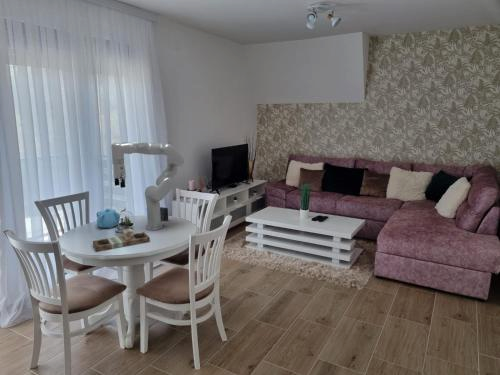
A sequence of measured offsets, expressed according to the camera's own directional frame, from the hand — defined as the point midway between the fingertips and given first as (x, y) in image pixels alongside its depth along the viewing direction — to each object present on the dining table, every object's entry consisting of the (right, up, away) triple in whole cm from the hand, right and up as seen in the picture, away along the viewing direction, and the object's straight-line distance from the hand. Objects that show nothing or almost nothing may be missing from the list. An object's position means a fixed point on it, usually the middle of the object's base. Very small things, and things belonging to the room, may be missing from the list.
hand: (120, 186), depth 244 cm
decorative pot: (-17, -30, +25) cm, 43 cm away
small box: (+18, -27, +39) cm, 51 cm away
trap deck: (+5, -37, -11) cm, 39 cm away
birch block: (+9, -34, -10) cm, 37 cm away
